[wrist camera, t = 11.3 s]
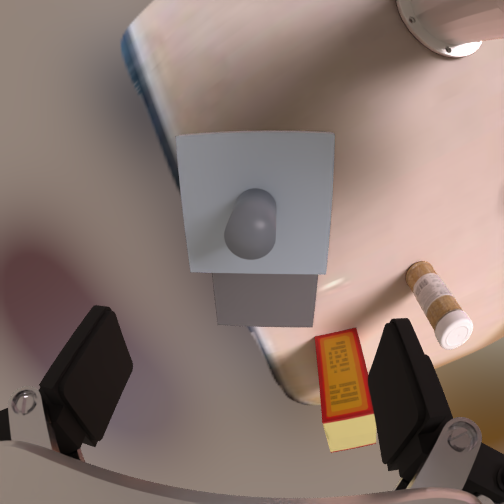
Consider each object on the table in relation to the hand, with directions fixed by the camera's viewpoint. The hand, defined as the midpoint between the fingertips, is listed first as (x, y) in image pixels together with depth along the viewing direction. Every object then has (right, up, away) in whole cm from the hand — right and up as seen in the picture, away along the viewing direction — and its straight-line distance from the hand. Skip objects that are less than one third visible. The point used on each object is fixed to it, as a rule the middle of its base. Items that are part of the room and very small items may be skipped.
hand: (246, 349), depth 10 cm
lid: (+1, +7, +14) cm, 15 cm away
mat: (+2, -1, +32) cm, 32 cm away
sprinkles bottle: (+24, 0, +30) cm, 38 cm away
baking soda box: (+14, -13, +38) cm, 42 cm away
